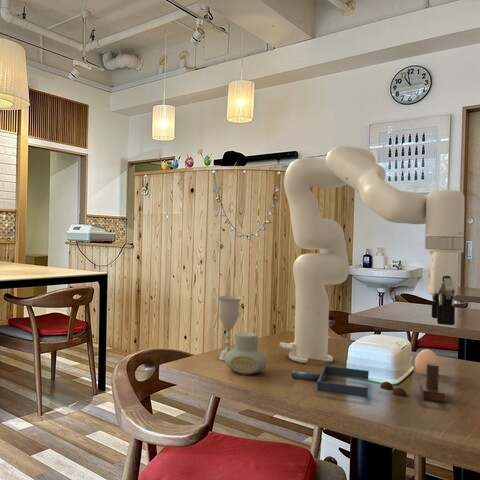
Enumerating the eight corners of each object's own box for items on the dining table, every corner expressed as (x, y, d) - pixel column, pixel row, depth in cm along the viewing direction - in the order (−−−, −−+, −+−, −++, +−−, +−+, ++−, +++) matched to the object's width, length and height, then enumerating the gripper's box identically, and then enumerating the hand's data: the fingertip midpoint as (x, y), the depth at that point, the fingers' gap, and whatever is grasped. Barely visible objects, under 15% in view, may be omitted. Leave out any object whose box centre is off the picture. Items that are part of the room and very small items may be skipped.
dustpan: (368, 384, 120) (368, 370, 120) (367, 403, 105) (367, 388, 105) (295, 374, 127) (296, 361, 127) (285, 391, 112) (286, 376, 112)
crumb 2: (392, 401, 107) (393, 389, 107) (392, 397, 110) (392, 385, 110) (406, 403, 106) (407, 390, 106) (405, 399, 109) (406, 387, 109)
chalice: (234, 363, 137) (236, 299, 137) (211, 359, 140) (213, 297, 140) (242, 358, 143) (244, 297, 143) (221, 354, 147) (223, 295, 147)
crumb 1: (380, 394, 112) (380, 382, 112) (379, 391, 115) (380, 379, 115) (393, 396, 111) (393, 384, 111) (393, 393, 113) (393, 381, 113)
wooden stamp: (423, 406, 104) (424, 367, 104) (419, 396, 112) (420, 359, 112) (444, 409, 103) (445, 370, 103) (439, 398, 110) (440, 361, 110)
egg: (433, 382, 123) (434, 353, 123) (410, 377, 128) (411, 348, 128) (443, 379, 126) (444, 350, 126) (420, 374, 131) (421, 346, 131)
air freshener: (267, 369, 131) (268, 332, 131) (265, 378, 123) (266, 338, 123) (226, 365, 134) (227, 329, 134) (222, 373, 126) (223, 335, 126)
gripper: (421, 245, 119) (419, 315, 118) (429, 245, 103) (428, 325, 103) (456, 246, 116) (455, 317, 116) (471, 245, 100) (469, 328, 100)
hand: (442, 321), depth 109 cm, fingers open, 9 cm apart
